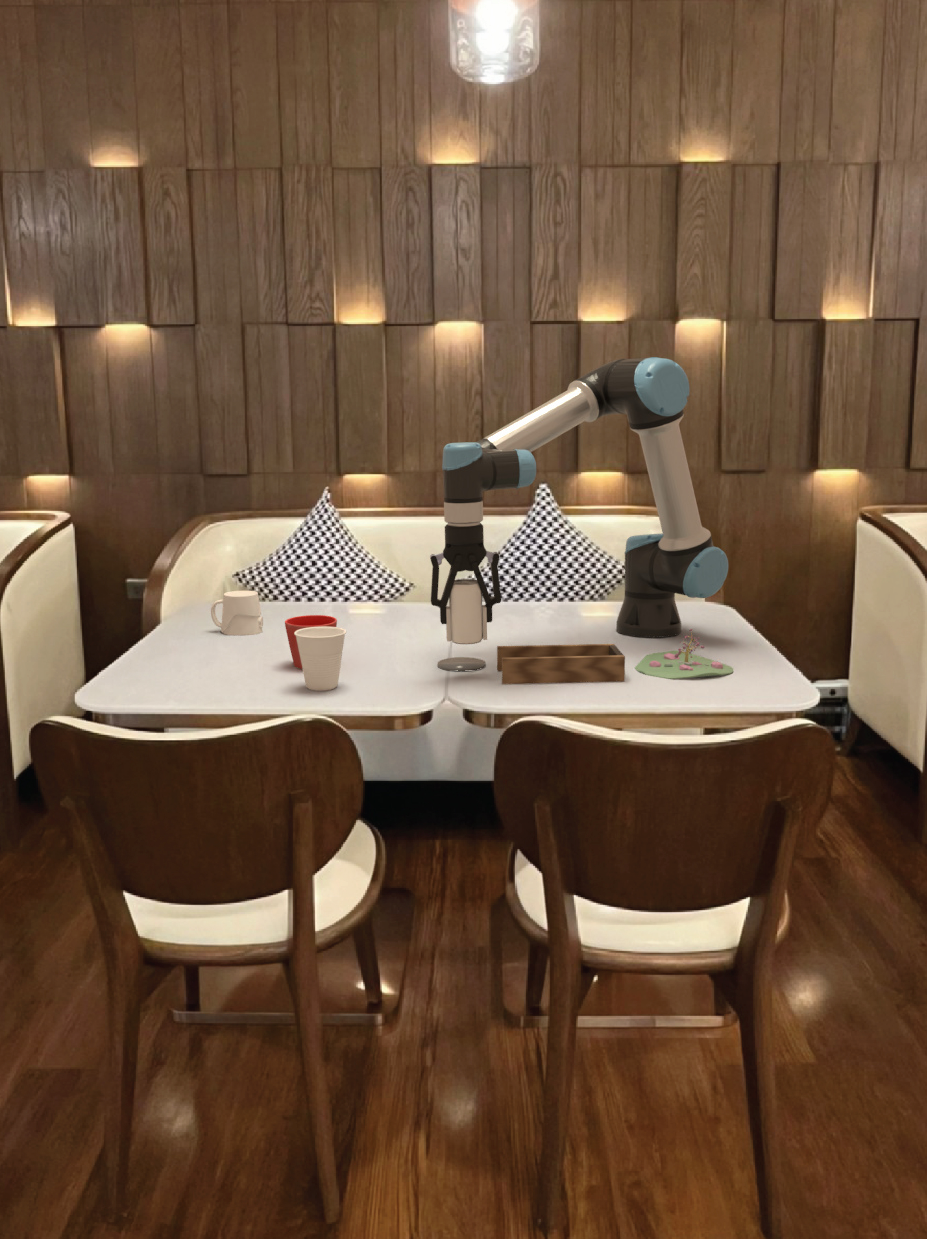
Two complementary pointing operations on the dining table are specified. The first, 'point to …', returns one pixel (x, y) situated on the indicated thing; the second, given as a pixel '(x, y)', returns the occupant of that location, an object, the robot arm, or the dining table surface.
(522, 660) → the channel
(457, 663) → the coaster
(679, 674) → the plant
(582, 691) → the dining table surface
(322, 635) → the cup
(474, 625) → the can
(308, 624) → the flower pot
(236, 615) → the mug
